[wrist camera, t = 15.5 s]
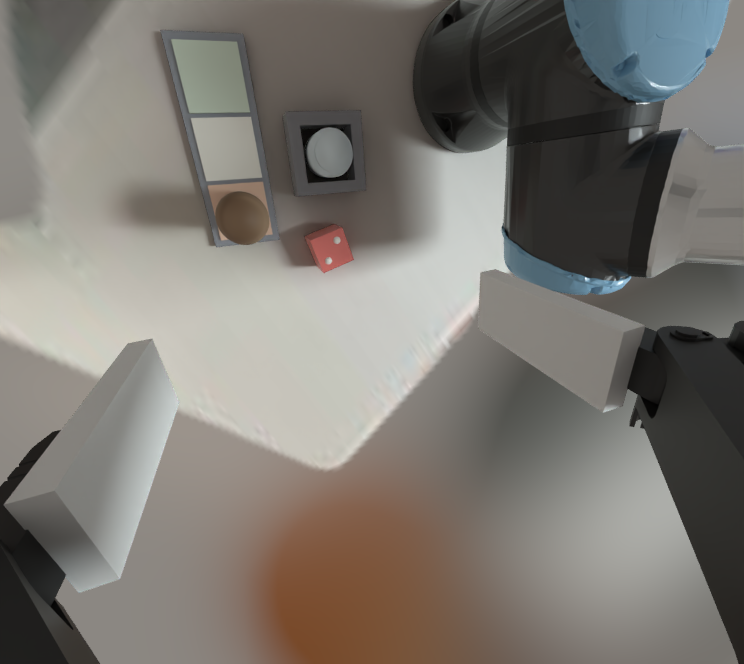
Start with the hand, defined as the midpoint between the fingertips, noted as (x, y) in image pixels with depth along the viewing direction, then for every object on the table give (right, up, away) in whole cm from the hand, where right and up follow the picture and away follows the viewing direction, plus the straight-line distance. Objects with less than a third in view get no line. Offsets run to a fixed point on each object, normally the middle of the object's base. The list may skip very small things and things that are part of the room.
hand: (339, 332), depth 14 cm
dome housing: (-4, +20, +25) cm, 32 cm away
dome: (-4, +20, +24) cm, 32 cm away
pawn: (-13, +13, +23) cm, 30 cm away
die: (-5, +11, +29) cm, 31 cm away
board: (-14, +19, +22) cm, 32 cm away
